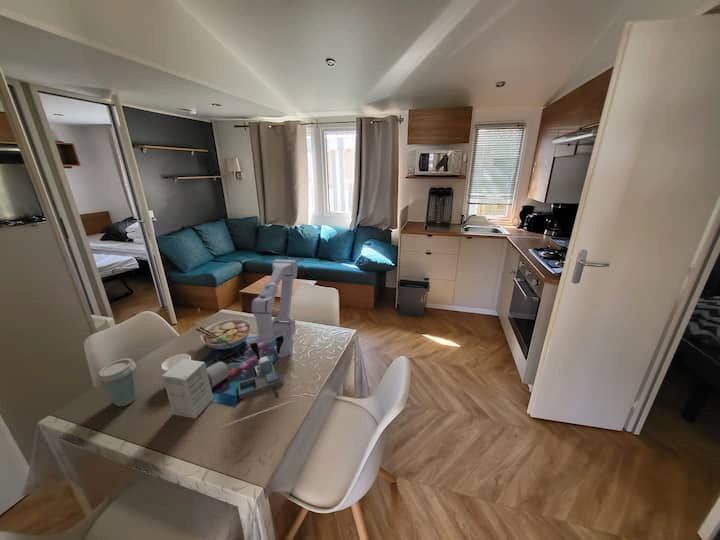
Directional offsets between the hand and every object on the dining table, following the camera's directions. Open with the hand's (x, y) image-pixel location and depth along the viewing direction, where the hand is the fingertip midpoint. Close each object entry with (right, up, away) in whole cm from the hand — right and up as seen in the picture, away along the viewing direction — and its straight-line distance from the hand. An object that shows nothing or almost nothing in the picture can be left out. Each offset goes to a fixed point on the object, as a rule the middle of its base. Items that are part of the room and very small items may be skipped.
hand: (268, 355), depth 111 cm
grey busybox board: (-1, -12, -5) cm, 13 cm away
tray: (-3, -9, +5) cm, 10 cm away
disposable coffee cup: (-49, -13, -9) cm, 52 cm away
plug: (-3, -8, +5) cm, 10 cm away
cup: (-35, -10, 0) cm, 37 cm away
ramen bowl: (-27, -2, +24) cm, 36 cm away
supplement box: (-23, -15, -12) cm, 30 cm away
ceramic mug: (-22, -10, 0) cm, 24 cm away
